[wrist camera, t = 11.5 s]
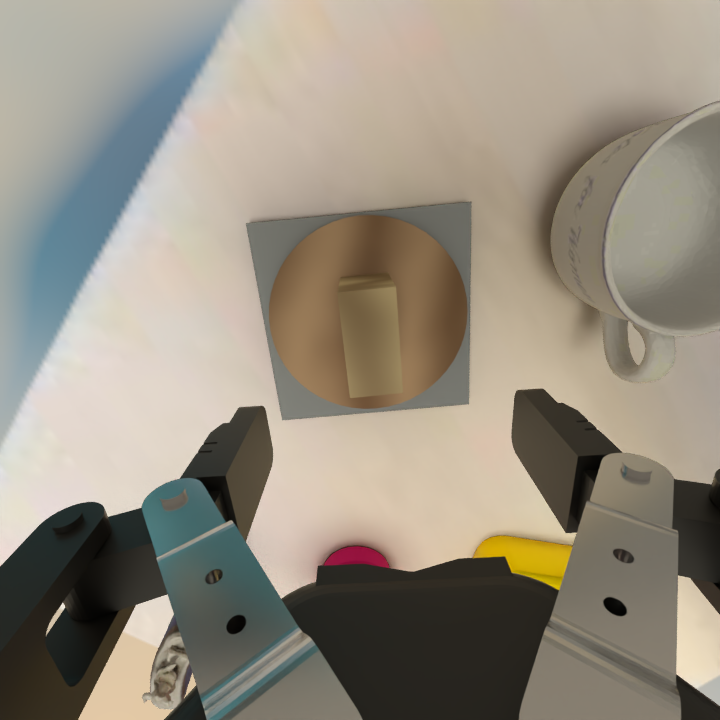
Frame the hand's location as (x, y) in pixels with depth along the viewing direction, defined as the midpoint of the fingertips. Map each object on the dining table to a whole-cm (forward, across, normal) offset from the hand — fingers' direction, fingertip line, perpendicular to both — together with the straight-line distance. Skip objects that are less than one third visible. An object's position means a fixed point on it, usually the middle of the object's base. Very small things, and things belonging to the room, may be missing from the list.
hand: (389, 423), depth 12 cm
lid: (+15, 0, 0) cm, 15 cm away
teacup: (+16, -16, -3) cm, 23 cm away
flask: (+15, +16, +23) cm, 32 cm away
